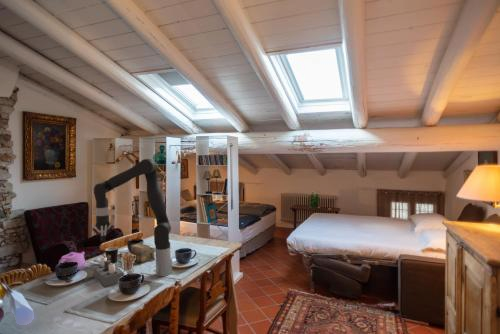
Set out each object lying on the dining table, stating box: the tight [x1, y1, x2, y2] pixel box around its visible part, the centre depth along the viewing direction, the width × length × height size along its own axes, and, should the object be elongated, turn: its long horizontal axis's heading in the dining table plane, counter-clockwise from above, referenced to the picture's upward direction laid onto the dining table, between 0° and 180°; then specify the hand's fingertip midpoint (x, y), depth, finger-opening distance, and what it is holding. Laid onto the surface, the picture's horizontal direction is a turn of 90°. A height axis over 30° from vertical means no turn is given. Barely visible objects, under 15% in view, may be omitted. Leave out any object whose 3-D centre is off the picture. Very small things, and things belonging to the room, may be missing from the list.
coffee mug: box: [100, 246, 119, 265], centre depth 218 cm, size 12×9×10 cm
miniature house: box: [130, 242, 156, 265], centre depth 222 cm, size 15×14×11 cm
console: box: [92, 263, 124, 288], centre depth 190 cm, size 11×22×6 cm, turn 43°
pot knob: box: [104, 260, 111, 272], centre depth 189 cm, size 4×4×6 cm
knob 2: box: [109, 263, 116, 275], centre depth 184 cm, size 4×4×6 cm
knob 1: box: [100, 256, 107, 268], centre depth 195 cm, size 4×4×6 cm
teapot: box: [58, 251, 86, 271], centre depth 202 cm, size 20×12×13 cm, turn 165°
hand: (103, 241), depth 194 cm, fingers closed
